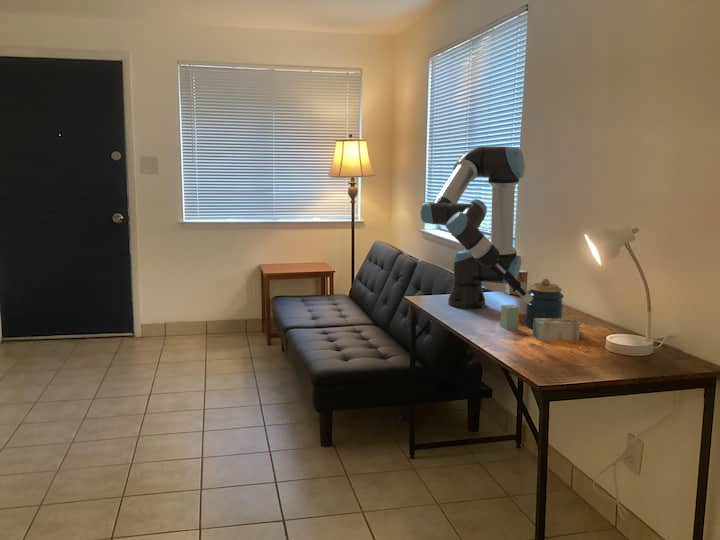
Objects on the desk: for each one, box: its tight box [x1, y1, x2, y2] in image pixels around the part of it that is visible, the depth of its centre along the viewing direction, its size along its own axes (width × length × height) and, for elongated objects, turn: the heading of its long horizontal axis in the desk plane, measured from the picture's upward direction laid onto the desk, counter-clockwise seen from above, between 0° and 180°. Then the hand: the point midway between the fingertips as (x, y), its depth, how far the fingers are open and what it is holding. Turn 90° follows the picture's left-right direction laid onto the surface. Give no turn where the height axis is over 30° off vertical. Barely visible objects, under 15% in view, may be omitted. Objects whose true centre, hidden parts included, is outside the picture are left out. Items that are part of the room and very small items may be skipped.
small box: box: [505, 269, 529, 296], centre depth 286 cm, size 8×6×10 cm
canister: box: [524, 278, 565, 329], centre depth 230 cm, size 13×13×18 cm
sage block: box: [499, 304, 520, 331], centre depth 228 cm, size 4×4×8 cm
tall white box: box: [532, 318, 581, 341], centre depth 216 cm, size 6×6×14 cm
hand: (529, 300), depth 214 cm, fingers closed
